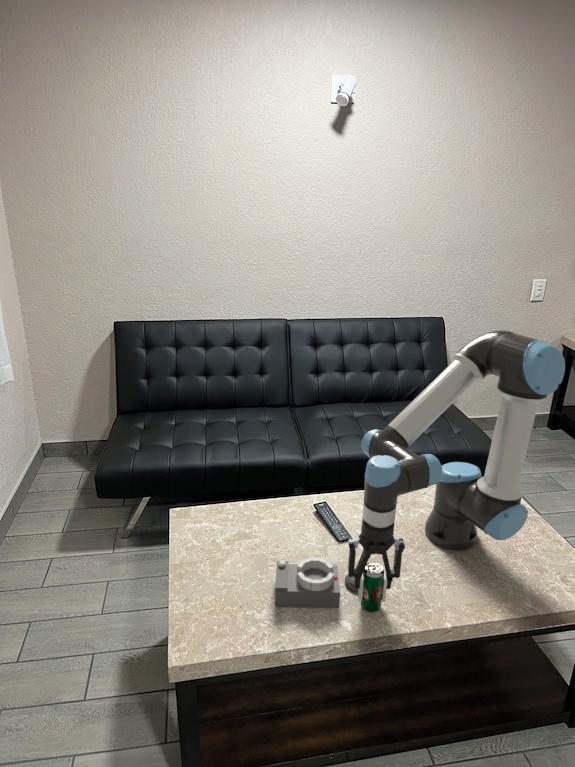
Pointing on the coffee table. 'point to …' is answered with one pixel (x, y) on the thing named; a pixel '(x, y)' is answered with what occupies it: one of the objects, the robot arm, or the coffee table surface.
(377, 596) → the soda can
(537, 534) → the coffee table surface
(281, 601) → the camera body
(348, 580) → the lens cap
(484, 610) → the coffee table surface
